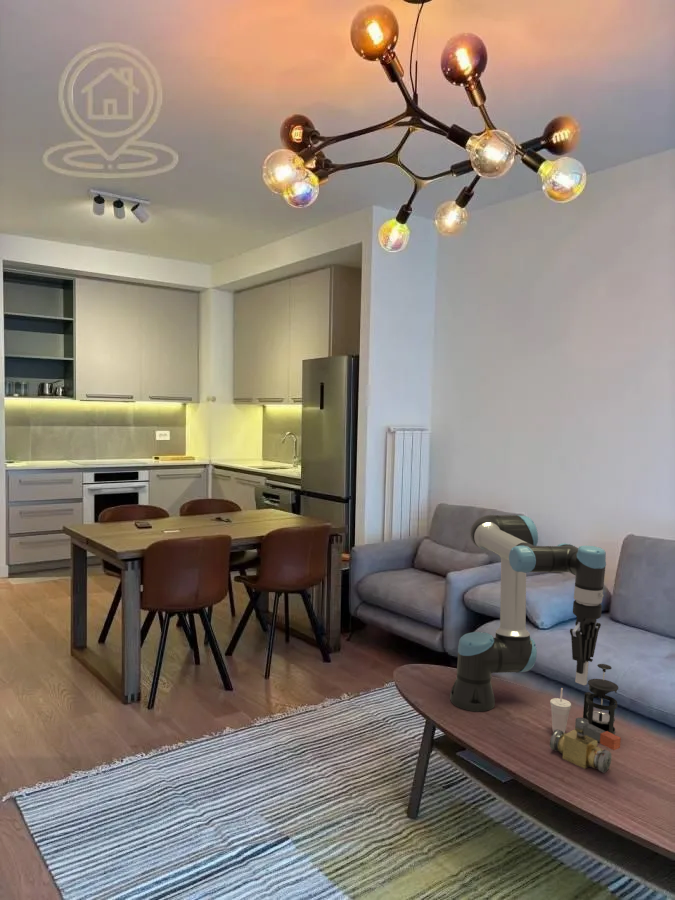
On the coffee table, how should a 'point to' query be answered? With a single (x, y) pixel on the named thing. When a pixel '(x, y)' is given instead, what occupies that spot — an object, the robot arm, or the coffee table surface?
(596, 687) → the french press
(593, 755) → the pipe valve
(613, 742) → the lever
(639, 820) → the coffee table surface
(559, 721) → the smoothie
